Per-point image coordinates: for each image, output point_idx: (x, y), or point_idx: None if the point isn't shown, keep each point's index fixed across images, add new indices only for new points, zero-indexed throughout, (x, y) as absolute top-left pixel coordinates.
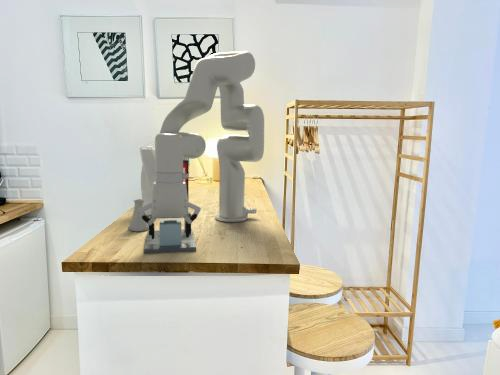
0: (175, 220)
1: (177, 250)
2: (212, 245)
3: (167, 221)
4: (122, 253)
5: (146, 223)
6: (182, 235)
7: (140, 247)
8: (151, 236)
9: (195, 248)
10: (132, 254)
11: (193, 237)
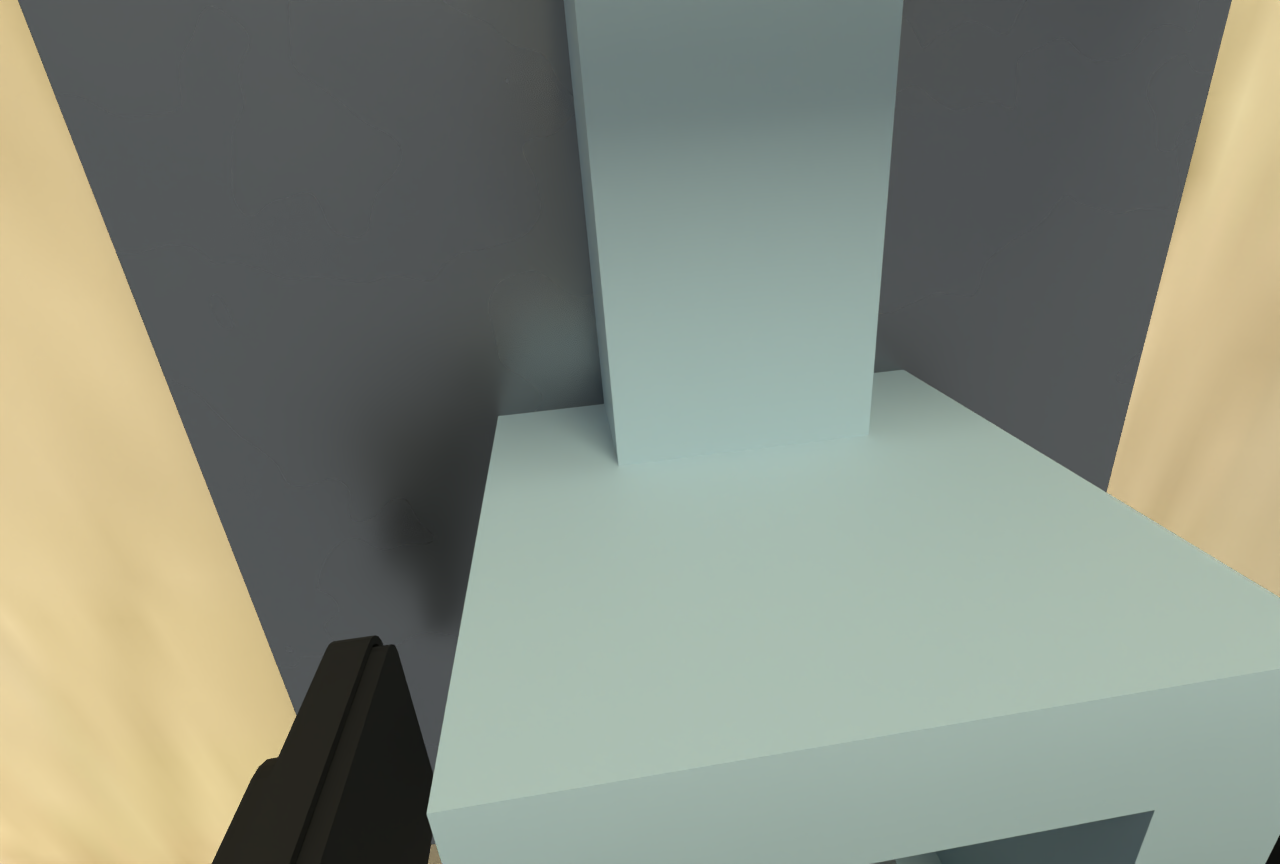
0: (1102, 809)
1: None
2: (1268, 497)
3: (780, 827)
4: (41, 802)
5: None
6: (968, 155)
7: (205, 583)
8: (225, 186)
9: None
10: (212, 820)
11: (1142, 317)
